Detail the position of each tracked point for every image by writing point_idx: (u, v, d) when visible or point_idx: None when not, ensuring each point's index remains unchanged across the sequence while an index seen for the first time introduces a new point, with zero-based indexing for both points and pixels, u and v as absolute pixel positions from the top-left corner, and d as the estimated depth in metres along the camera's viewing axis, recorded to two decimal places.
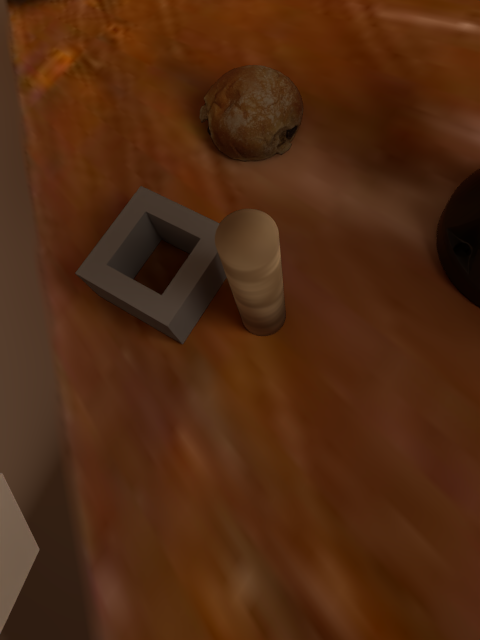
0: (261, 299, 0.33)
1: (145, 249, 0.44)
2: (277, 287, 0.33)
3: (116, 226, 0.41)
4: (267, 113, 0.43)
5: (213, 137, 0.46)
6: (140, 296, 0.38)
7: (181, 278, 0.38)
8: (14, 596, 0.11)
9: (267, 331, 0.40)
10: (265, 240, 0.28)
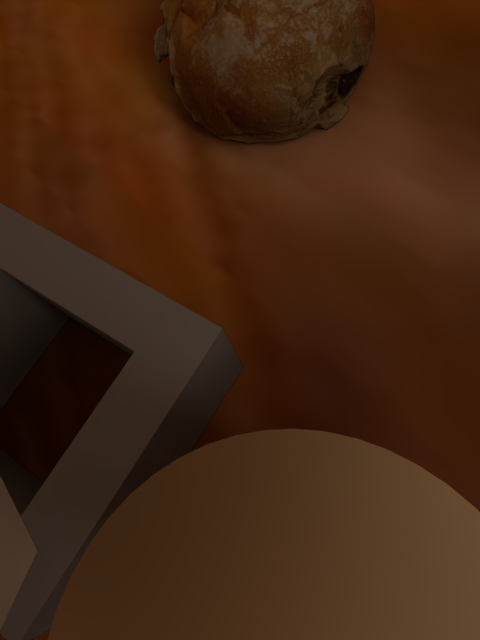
0: None
1: (23, 348, 0.19)
2: None
3: None
4: (302, 27, 0.18)
5: (180, 91, 0.21)
6: None
7: (70, 475, 0.13)
8: (11, 598, 0.11)
9: None
10: None
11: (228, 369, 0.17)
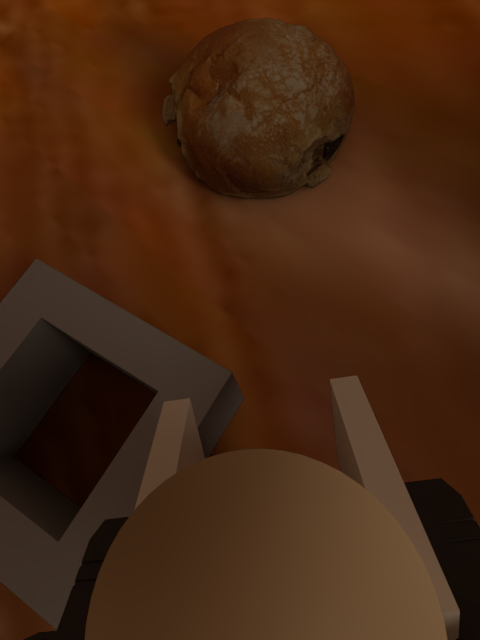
0: None
1: (52, 381, 0.21)
2: None
3: None
4: (293, 109, 0.22)
5: (186, 154, 0.25)
6: (7, 541, 0.16)
7: (107, 495, 0.16)
8: None
9: None
10: None
11: (233, 402, 0.20)
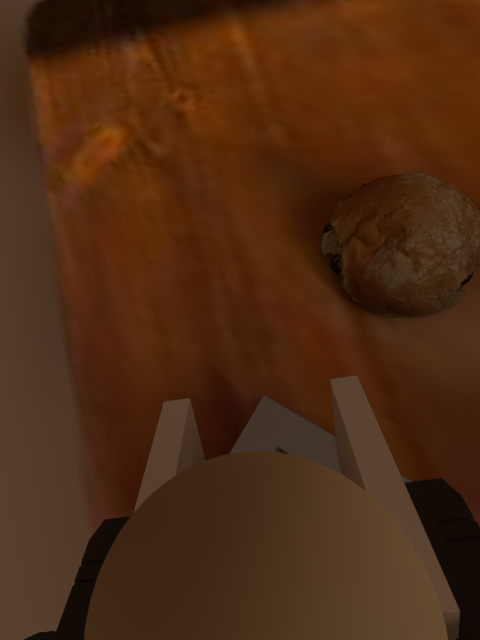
0: None
1: None
2: None
3: None
4: (450, 263, 0.27)
5: (347, 285, 0.30)
6: None
7: None
8: None
9: None
10: None
11: None
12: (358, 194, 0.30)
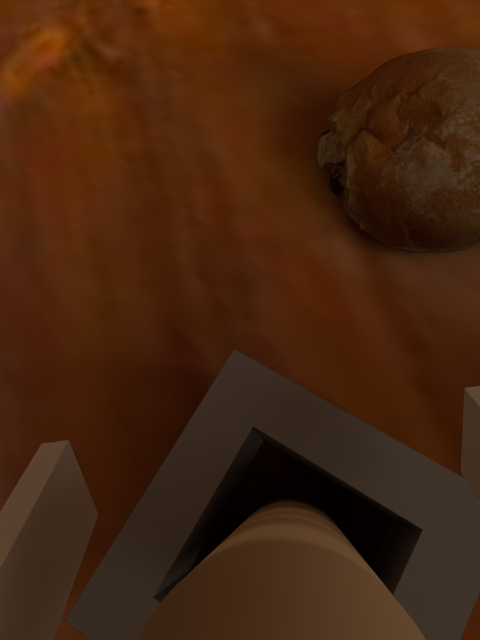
0: None
1: (234, 483, 0.18)
2: None
3: (177, 470, 0.15)
4: None
5: (354, 204, 0.21)
6: None
7: None
8: (80, 555, 0.12)
9: None
10: None
11: None
12: (369, 76, 0.21)
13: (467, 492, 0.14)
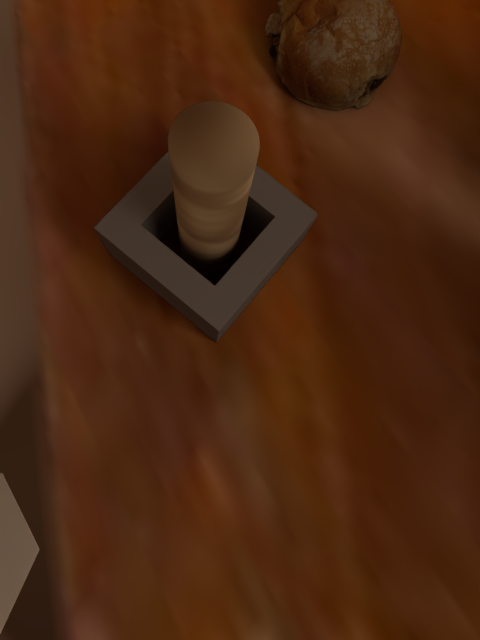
0: (214, 232, 0.25)
1: None
2: (237, 221, 0.25)
3: (159, 172, 0.29)
4: (365, 51, 0.32)
5: (280, 63, 0.35)
6: (185, 281, 0.28)
7: (243, 266, 0.28)
8: (14, 596, 0.11)
9: (210, 270, 0.32)
10: (239, 153, 0.20)
11: (301, 238, 0.32)
12: None
13: (299, 205, 0.29)
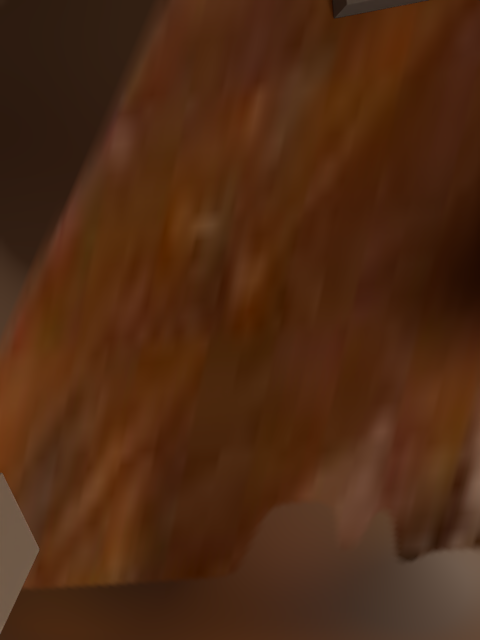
0: None
1: None
2: None
3: None
4: None
5: None
6: None
7: None
8: (13, 597, 0.11)
9: None
10: None
11: None
12: None
13: None
